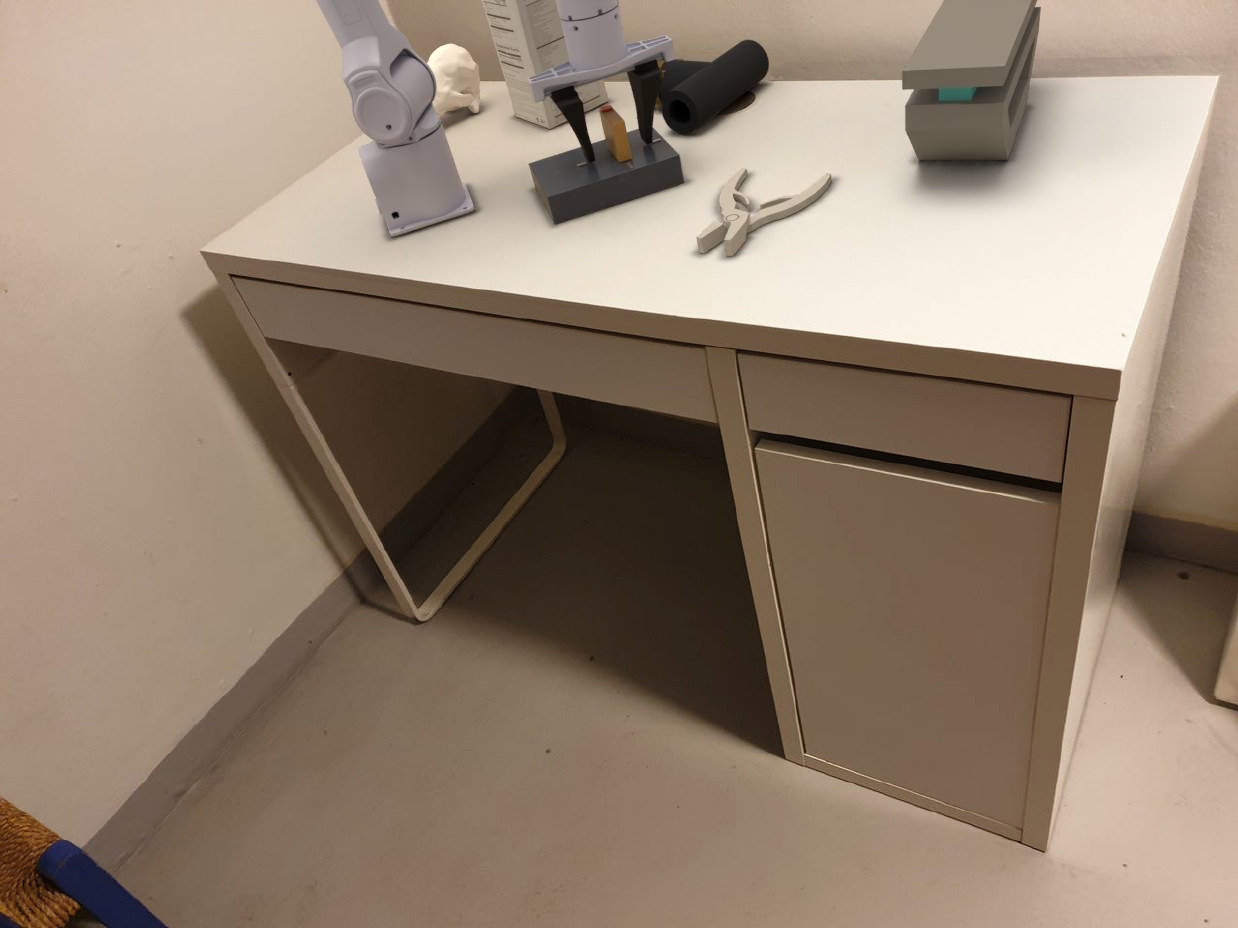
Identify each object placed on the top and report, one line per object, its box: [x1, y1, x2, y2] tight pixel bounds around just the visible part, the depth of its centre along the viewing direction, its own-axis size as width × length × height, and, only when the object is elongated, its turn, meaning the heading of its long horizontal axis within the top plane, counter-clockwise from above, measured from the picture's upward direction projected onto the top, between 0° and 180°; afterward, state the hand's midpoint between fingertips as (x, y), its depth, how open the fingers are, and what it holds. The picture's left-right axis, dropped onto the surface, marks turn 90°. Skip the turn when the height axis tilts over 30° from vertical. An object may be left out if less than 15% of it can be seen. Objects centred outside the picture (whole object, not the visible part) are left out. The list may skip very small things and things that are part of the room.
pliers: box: [696, 167, 832, 257], centre depth 84 cm, size 10×2×15 cm
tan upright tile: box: [598, 104, 632, 162], centre depth 92 cm, size 5×1×4 cm, turn 15°
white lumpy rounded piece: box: [426, 43, 481, 116], centre depth 119 cm, size 6×8×12 cm
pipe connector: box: [655, 39, 770, 136], centre depth 106 cm, size 12×5×15 cm
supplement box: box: [481, 0, 609, 130], centre depth 111 cm, size 10×9×17 cm
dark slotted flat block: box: [528, 127, 685, 225], centre depth 95 cm, size 14×10×3 cm
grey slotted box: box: [901, 0, 1042, 161], centre depth 84 cm, size 25×8×11 cm, turn 154°
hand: (618, 149), depth 94 cm, fingers open, 6 cm apart
